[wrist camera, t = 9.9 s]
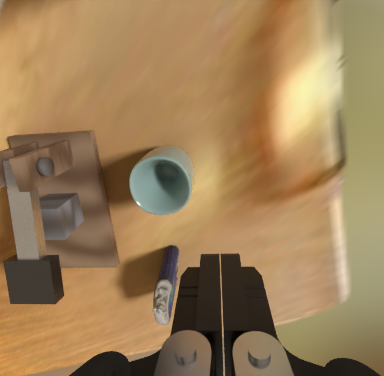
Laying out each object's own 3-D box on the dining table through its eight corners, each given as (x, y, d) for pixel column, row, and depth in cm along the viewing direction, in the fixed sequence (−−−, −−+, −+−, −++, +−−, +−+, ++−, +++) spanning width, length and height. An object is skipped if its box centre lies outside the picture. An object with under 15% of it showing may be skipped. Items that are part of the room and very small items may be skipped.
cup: (200, 184, 42) (197, 211, 33) (153, 191, 43) (137, 220, 34) (191, 135, 40) (184, 150, 30) (141, 145, 41) (120, 162, 32)
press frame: (14, 135, 42) (-63, 153, 30) (93, 130, 41) (45, 148, 29) (52, 262, 50) (4, 315, 39) (119, 262, 49) (89, 316, 37)
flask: (177, 287, 50) (167, 336, 40) (161, 285, 50) (148, 334, 40) (180, 245, 47) (171, 288, 37) (164, 243, 47) (150, 285, 37)
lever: (0, 160, 35) (-13, 161, 33) (46, 158, 34) (35, 159, 32) (21, 295, 38) (10, 303, 36) (64, 295, 37) (55, 304, 35)
